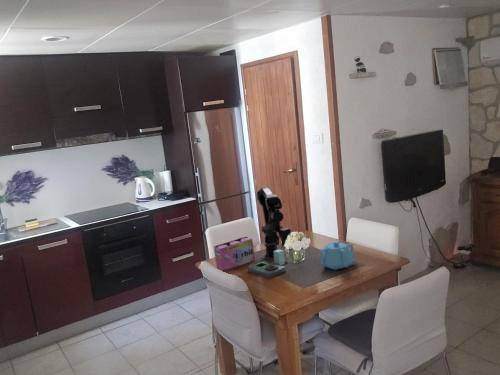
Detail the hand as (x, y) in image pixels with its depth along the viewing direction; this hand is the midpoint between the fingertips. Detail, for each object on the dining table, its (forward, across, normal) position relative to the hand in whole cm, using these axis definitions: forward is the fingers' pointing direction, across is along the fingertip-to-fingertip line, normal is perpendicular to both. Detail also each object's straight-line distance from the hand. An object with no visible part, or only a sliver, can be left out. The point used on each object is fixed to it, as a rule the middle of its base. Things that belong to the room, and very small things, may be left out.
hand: (277, 244), depth 249 cm
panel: (+12, +2, -12) cm, 17 cm away
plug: (+12, 0, 0) cm, 12 cm away
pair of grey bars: (+12, 0, 0) cm, 12 cm away
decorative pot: (+12, +30, +15) cm, 36 cm away
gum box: (+12, -23, -14) cm, 29 cm away
